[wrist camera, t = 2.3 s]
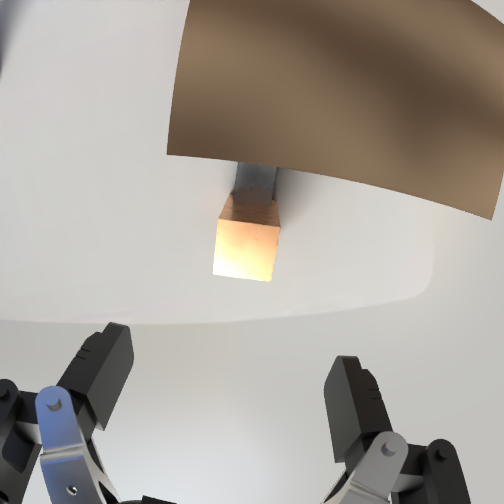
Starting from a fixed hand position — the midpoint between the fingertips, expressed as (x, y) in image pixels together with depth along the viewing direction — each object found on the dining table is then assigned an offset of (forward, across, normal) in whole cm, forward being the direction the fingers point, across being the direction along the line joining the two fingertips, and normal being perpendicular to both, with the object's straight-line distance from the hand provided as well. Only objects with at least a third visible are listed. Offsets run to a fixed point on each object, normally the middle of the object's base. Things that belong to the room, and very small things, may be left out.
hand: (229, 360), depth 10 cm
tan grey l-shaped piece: (+17, 0, -5) cm, 18 cm away
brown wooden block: (+17, -4, -12) cm, 21 cm away
